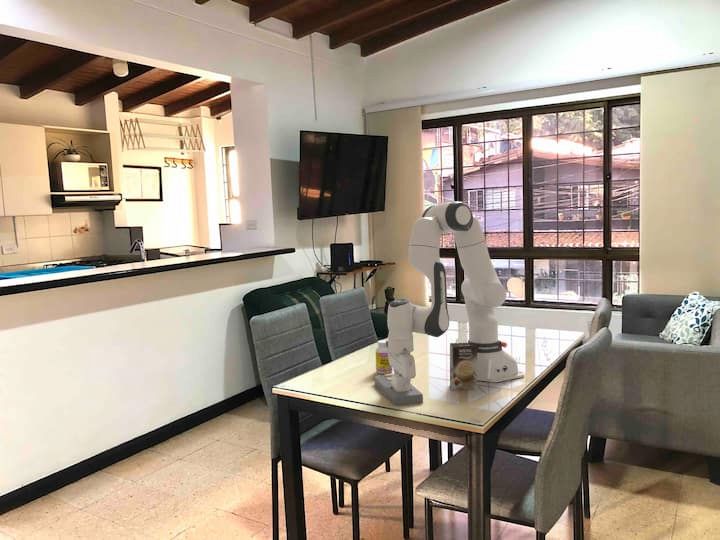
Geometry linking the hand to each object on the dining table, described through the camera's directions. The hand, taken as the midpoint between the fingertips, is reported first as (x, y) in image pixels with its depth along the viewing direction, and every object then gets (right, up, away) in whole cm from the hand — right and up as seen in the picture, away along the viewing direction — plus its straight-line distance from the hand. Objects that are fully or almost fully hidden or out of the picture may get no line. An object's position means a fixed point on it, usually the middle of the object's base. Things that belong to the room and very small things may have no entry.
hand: (402, 384), depth 201 cm
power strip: (-1, -4, +5) cm, 7 cm away
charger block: (0, -5, +1) cm, 5 cm away
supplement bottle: (-5, -2, +32) cm, 33 cm away
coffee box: (+23, -3, +9) cm, 25 cm away
